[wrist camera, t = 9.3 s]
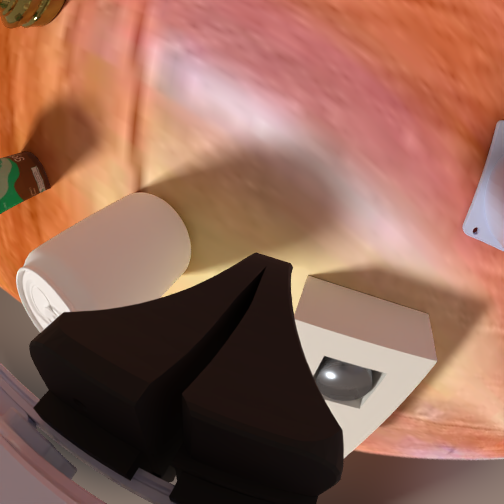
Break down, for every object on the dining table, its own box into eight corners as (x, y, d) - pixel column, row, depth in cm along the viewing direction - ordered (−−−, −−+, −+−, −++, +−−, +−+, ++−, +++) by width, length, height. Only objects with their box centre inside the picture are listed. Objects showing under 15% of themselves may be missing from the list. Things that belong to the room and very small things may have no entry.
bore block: (428, 314, 20) (437, 361, 16) (343, 427, 29) (336, 463, 25) (307, 275, 22) (293, 318, 18) (261, 402, 31) (246, 438, 27)
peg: (382, 331, 21) (381, 375, 18) (362, 363, 24) (357, 405, 20) (334, 316, 22) (326, 359, 18) (319, 350, 24) (308, 392, 21)
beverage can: (132, 171, 23) (8, 233, 13) (211, 228, 23) (104, 330, 13) (110, 241, 27) (17, 312, 17) (175, 292, 27) (93, 386, 17)
